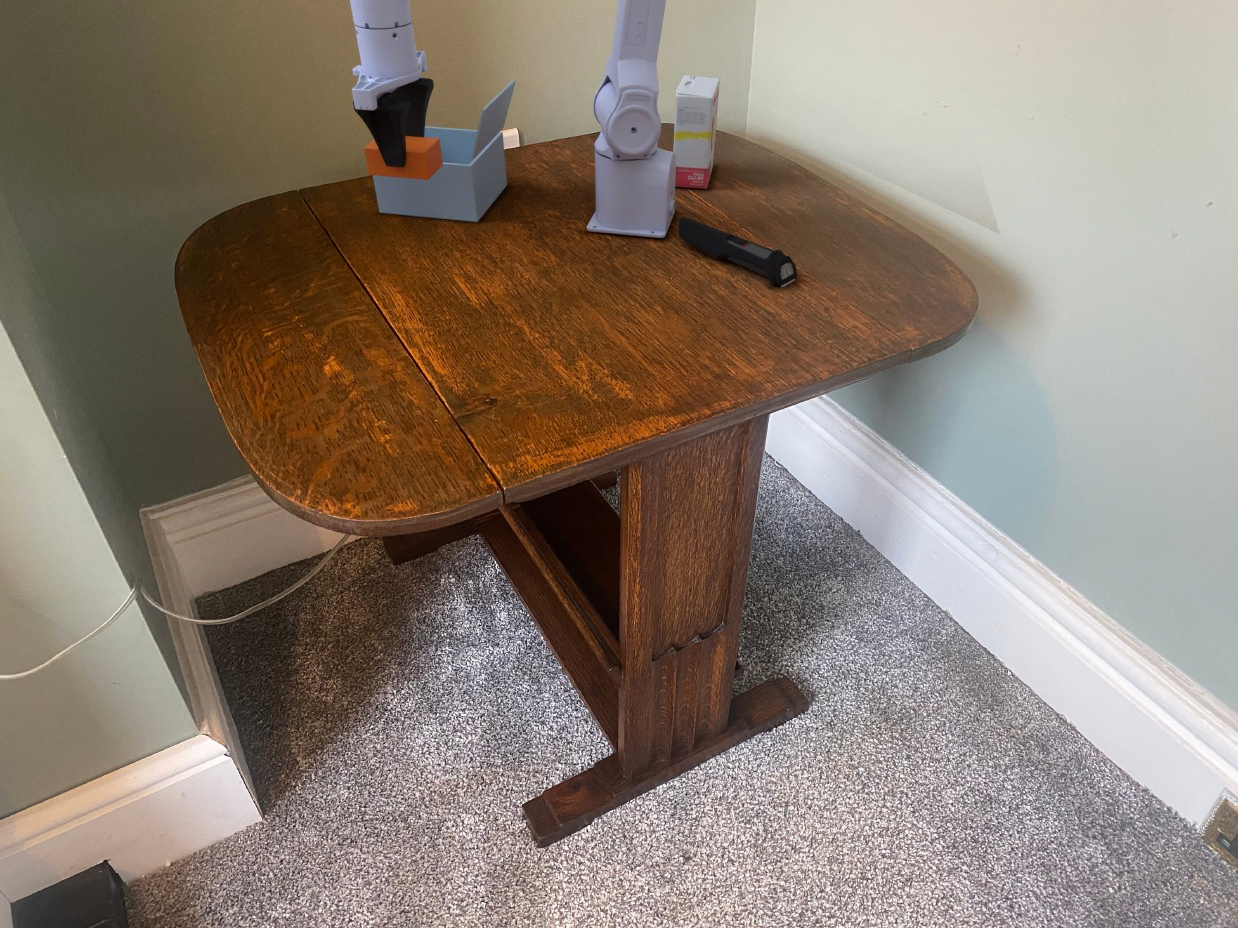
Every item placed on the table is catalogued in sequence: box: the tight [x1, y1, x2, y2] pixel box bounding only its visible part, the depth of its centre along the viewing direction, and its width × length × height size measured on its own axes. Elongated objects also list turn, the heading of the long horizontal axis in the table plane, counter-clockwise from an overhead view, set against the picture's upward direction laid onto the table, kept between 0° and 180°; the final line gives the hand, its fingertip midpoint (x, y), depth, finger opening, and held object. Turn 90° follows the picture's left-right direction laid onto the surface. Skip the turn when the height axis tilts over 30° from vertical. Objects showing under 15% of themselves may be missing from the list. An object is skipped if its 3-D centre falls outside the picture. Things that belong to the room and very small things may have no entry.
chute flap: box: [470, 78, 517, 161], centre depth 101 cm, size 6×12×1 cm
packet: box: [363, 136, 443, 180], centre depth 94 cm, size 7×4×3 cm, turn 78°
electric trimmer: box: [677, 216, 798, 289], centre depth 95 cm, size 4×16×3 cm, turn 45°
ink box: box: [672, 74, 721, 190], centre depth 111 cm, size 9×5×12 cm, turn 169°
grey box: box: [372, 125, 508, 223], centre depth 107 cm, size 13×12×7 cm
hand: (405, 157), depth 94 cm, fingers closed on packet, 4 cm apart
